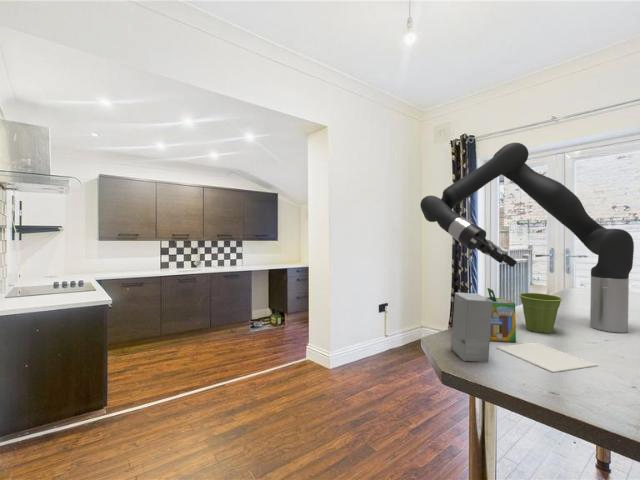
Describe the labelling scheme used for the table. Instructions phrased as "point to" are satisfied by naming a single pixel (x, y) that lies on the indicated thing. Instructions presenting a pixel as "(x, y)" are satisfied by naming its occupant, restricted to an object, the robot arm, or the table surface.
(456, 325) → the skincare box
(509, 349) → the mat
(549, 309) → the plant pot
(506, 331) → the chalk box
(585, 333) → the table surface
